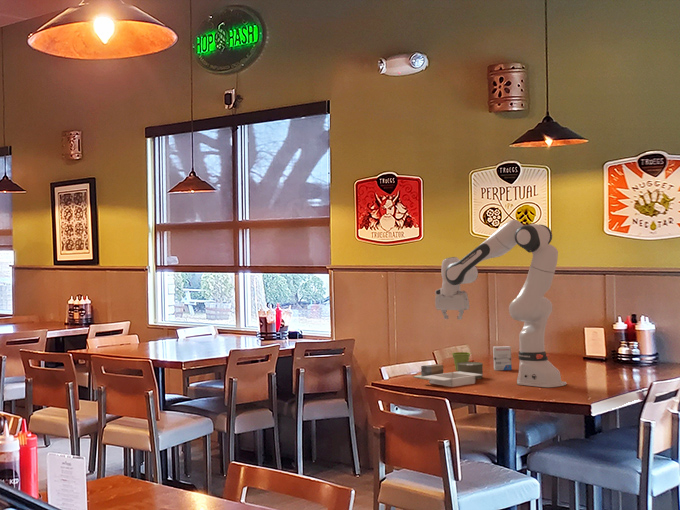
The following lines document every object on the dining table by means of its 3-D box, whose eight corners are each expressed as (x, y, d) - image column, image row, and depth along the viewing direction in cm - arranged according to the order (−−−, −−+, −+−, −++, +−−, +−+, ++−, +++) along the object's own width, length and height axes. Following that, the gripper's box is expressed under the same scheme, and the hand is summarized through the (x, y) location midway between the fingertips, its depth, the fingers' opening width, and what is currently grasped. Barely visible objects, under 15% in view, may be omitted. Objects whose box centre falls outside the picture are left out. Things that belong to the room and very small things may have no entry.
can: (483, 376, 388) (483, 361, 389) (482, 379, 377) (482, 365, 377) (458, 375, 391) (458, 361, 391) (456, 379, 379) (456, 365, 379)
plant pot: (465, 372, 402) (465, 354, 402) (448, 370, 408) (448, 353, 408) (474, 369, 410) (473, 352, 410) (457, 368, 416) (457, 351, 416)
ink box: (510, 369, 410) (510, 345, 410) (511, 370, 405) (511, 346, 405) (493, 369, 411) (493, 346, 411) (494, 370, 406) (493, 347, 406)
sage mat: (448, 377, 386) (448, 376, 386) (430, 380, 379) (430, 378, 379) (432, 374, 396) (431, 373, 396) (413, 377, 389) (413, 376, 389)
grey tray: (483, 382, 370) (483, 374, 370) (443, 388, 355) (443, 380, 355) (460, 378, 382) (460, 371, 382) (421, 384, 367) (420, 376, 367)
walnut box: (443, 375, 389) (443, 364, 389) (427, 377, 383) (427, 366, 383) (437, 374, 393) (436, 363, 393) (421, 376, 387) (421, 365, 387)
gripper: (471, 290, 384) (473, 319, 384) (441, 290, 401) (443, 318, 400) (462, 290, 381) (463, 320, 380) (432, 291, 397) (433, 319, 397)
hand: (452, 319), depth 390 cm, fingers open, 8 cm apart
